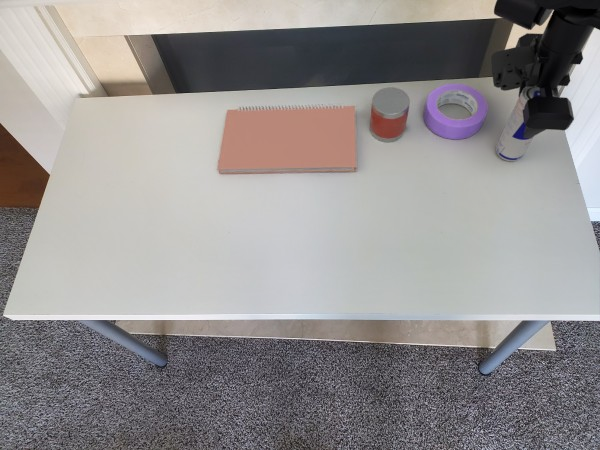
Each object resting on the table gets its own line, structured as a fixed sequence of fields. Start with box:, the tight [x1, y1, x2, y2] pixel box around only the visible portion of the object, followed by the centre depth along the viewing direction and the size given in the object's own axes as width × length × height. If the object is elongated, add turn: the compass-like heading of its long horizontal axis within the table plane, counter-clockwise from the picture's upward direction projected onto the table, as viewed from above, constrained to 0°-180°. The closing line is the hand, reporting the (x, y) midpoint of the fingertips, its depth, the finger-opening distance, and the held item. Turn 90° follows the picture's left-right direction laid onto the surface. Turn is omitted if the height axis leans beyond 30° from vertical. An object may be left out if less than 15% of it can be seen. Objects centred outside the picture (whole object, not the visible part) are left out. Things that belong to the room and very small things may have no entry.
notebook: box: [216, 103, 358, 175], centre depth 91 cm, size 27×17×2 cm, turn 88°
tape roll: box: [423, 83, 489, 140], centre depth 89 cm, size 12×12×4 cm
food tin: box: [369, 86, 411, 143], centre depth 87 cm, size 7×7×8 cm
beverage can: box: [495, 86, 540, 162], centre depth 79 cm, size 5×5×15 cm
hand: (523, 116), depth 77 cm, fingers open, 9 cm apart
